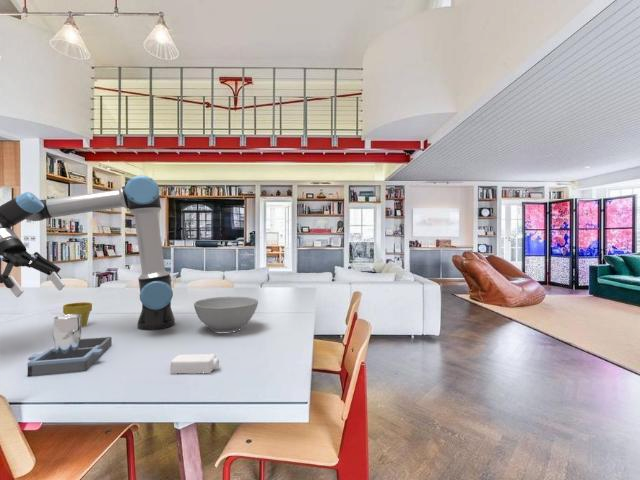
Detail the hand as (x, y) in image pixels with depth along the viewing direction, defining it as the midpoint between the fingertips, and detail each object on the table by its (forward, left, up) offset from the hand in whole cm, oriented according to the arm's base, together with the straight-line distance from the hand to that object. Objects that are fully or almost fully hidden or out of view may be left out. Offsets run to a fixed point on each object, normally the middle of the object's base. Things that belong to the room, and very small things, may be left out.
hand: (42, 290), depth 109 cm
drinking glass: (-12, +13, -22) cm, 28 cm away
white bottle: (-49, +28, -22) cm, 61 cm away
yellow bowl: (+3, -39, -22) cm, 45 cm away
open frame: (-12, +7, -21) cm, 25 cm away
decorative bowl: (-60, -16, -22) cm, 66 cm away
